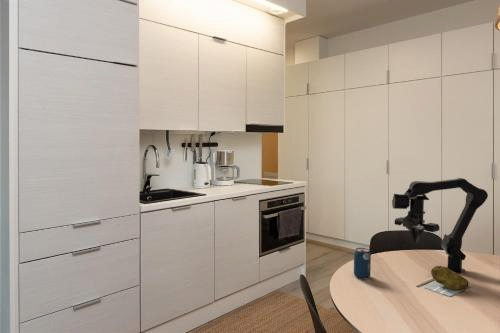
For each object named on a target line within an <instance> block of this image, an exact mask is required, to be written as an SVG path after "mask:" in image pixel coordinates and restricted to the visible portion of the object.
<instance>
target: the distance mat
mask: <svg viewBox="0 0 500 333" xmlns="http://www.w3.org/2000/svg"><path fill="white" fill-rule="evenodd" d="M469 287H470V285H469V286H468V288H469ZM423 289H425V290H429V291H431V292H435V293H438V294H441V295H443V296H446V297H451V298H452V296H455V295H456V294H458V293H461V292H463V290H452V289H449V288H446V287H445V286H443V285H442V284H440V283H438V282H436V281H435V282H434V283H431V284H429V285H427V286H425V287H424V288H423Z"/></svg>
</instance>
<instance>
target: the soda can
mask: <svg viewBox="0 0 500 333" xmlns="http://www.w3.org/2000/svg"><path fill="white" fill-rule="evenodd" d="M371 256H372V254H371V251H370V249H369V248H365V247H356V248H355V251H354V252H353V275H354V277H355V278H357V279H359V280H368V279H369V278H370V276H371V266H372V265H371V260H372V259H371Z"/></svg>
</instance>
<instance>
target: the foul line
mask: <svg viewBox="0 0 500 333" xmlns="http://www.w3.org/2000/svg"><path fill="white" fill-rule="evenodd" d="M433 281H435V280H434V278H433V277H432V278H431V279H428V280H426V281H424V282H421V283H420V284H416V286H415V287H417V288H420V287H422V286H424V285H427V284H429V283H431V282H433Z"/></svg>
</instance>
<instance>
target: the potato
mask: <svg viewBox="0 0 500 333" xmlns="http://www.w3.org/2000/svg"><path fill="white" fill-rule="evenodd" d="M447 267H448V266H443V265H436V266H434V267H432V269H431V271H430V273H431V276H432V279H433V278H434V280H433V281H435V282H438V283H440V284H442V285H443V286H445V287H446V288H449V289H452V290H462V291H464V290H466V289H469V287H468V286H470V285H469V284H470V283H469V279H467V278H466V277H464V276H462V275H460V273H455V272H453V271H452V270H450V269H449V268H447Z"/></svg>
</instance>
